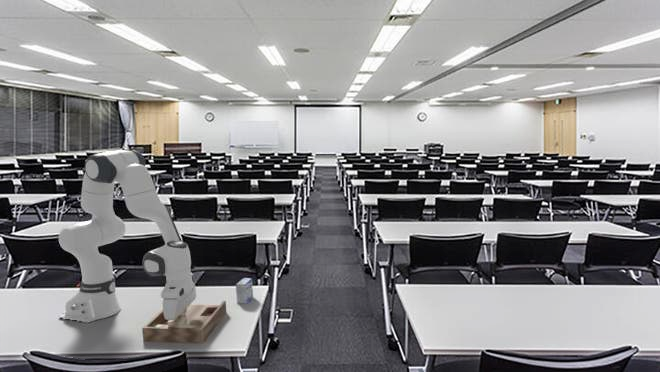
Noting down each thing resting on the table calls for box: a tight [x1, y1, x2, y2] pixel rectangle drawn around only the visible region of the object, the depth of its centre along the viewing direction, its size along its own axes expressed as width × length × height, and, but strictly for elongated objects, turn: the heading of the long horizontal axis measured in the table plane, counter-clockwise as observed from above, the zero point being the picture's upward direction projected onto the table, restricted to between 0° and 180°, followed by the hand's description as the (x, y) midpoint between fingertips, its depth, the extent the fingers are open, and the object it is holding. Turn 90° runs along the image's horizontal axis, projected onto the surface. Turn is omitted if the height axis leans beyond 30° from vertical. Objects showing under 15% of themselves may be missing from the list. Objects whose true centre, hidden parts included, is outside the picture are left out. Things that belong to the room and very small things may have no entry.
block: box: [168, 316, 187, 328], centre depth 158 cm, size 5×5×4 cm
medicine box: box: [235, 277, 254, 305], centre depth 191 cm, size 8×4×9 cm, turn 168°
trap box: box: [141, 300, 227, 344], centre depth 167 cm, size 22×25×5 cm
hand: (182, 320), depth 163 cm, fingers closed
